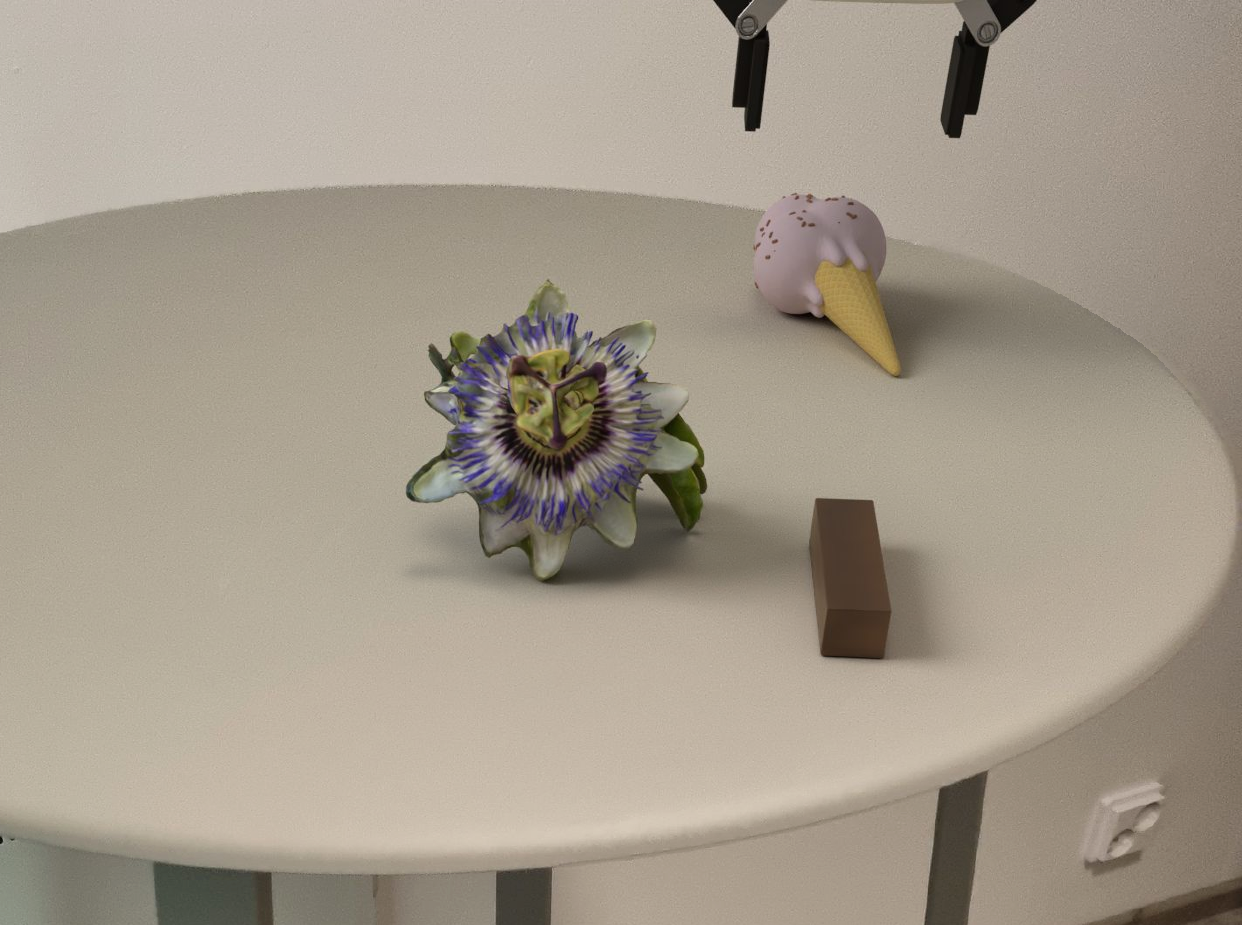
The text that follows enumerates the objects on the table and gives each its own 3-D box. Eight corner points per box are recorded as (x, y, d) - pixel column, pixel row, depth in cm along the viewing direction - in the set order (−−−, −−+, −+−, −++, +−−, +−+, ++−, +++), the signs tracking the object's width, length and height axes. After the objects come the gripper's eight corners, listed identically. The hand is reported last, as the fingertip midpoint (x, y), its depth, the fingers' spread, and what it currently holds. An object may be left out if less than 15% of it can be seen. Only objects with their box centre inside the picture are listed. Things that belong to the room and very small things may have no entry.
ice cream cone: (952, 296, 91) (843, 135, 99) (813, 365, 93) (717, 201, 101) (969, 390, 96) (863, 229, 104) (836, 454, 97) (742, 290, 106)
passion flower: (543, 690, 82) (388, 504, 74) (499, 539, 89) (352, 352, 80) (776, 547, 78) (640, 333, 69) (711, 400, 85) (580, 187, 76)
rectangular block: (866, 545, 80) (873, 499, 79) (883, 659, 73) (891, 610, 71) (809, 542, 80) (815, 497, 79) (820, 656, 73) (827, 608, 72)
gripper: (711, -299, 80) (672, 143, 91) (1133, -293, 78) (1040, 156, 90) (710, -318, 85) (673, 101, 97) (1104, -313, 84) (1020, 112, 95)
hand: (850, 127), depth 93 cm, fingers open, 9 cm apart
